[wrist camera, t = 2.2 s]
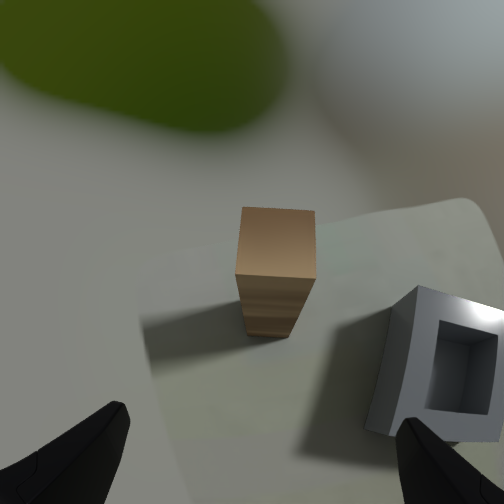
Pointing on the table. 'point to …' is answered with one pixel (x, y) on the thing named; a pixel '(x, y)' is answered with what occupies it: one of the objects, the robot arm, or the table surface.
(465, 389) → the grey square socket holder
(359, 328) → the table surface
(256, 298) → the tall wooden pillar block
